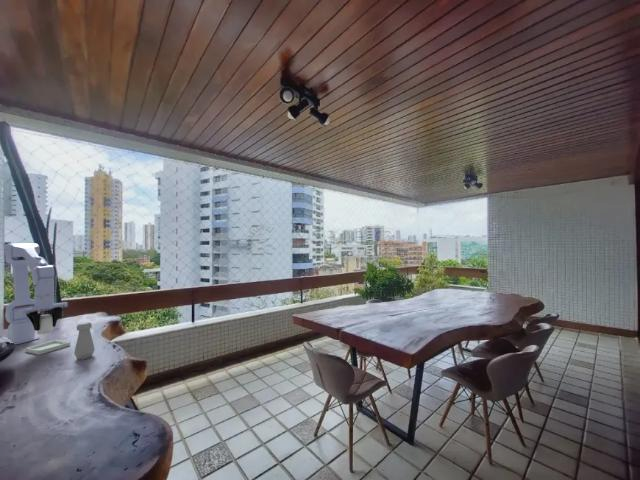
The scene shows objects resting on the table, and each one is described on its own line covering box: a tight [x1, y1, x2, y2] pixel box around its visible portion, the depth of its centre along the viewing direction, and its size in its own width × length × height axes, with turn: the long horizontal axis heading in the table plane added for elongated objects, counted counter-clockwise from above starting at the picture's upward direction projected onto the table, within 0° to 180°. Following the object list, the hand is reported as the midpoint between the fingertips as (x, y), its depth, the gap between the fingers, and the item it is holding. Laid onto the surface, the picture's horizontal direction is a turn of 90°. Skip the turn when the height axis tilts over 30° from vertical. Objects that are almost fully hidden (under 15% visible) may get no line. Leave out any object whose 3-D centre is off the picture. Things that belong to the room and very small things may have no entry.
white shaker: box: [36, 313, 54, 335], centre depth 113 cm, size 4×4×7 cm
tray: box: [24, 339, 71, 356], centre depth 114 cm, size 10×10×2 cm
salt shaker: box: [73, 321, 95, 361], centre depth 103 cm, size 6×6×13 cm
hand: (45, 328), depth 113 cm, fingers closed on white shaker, 4 cm apart
